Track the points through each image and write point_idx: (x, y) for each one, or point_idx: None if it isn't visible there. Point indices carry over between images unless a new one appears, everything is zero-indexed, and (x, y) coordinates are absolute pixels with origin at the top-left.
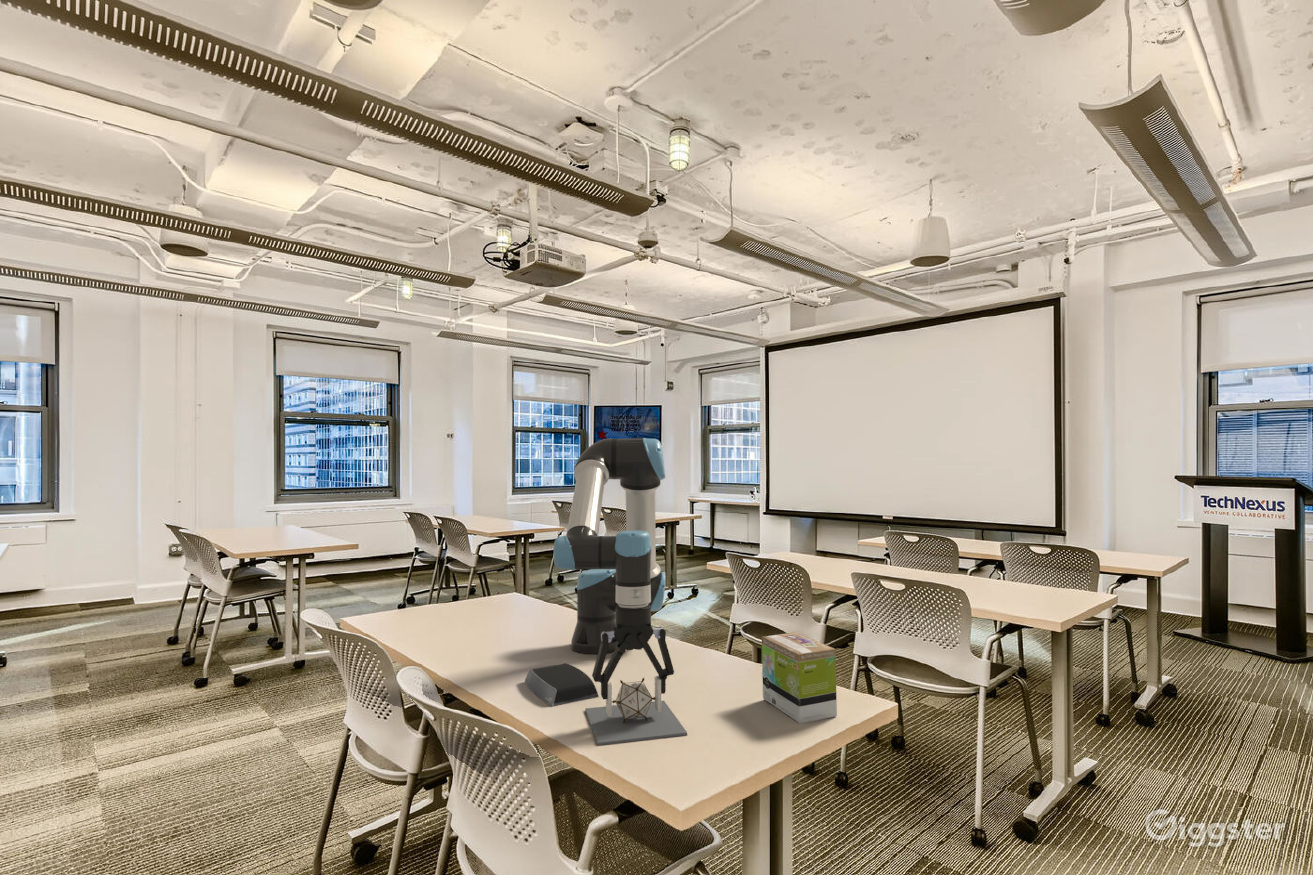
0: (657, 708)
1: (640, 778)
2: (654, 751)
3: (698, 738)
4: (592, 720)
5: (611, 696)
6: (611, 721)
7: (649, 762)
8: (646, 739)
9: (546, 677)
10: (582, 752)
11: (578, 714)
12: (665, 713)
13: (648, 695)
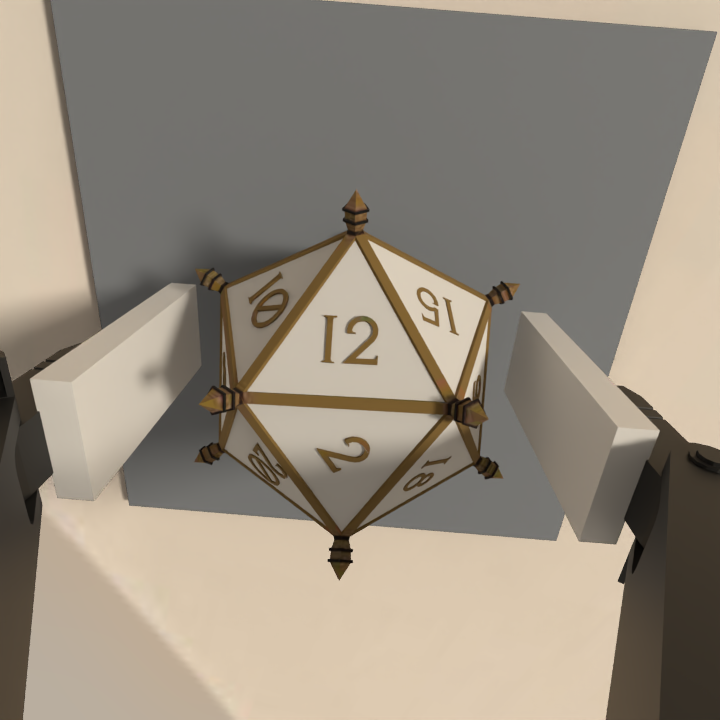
0: (509, 392)
1: (258, 712)
2: (356, 601)
3: (579, 568)
4: (105, 246)
5: (145, 432)
6: None
7: (312, 654)
8: None
9: None
10: (69, 527)
11: (11, 47)
12: (583, 293)
13: (449, 474)
